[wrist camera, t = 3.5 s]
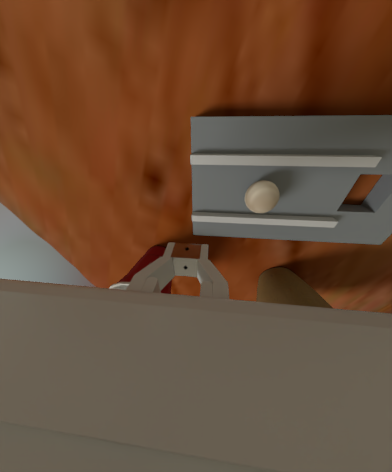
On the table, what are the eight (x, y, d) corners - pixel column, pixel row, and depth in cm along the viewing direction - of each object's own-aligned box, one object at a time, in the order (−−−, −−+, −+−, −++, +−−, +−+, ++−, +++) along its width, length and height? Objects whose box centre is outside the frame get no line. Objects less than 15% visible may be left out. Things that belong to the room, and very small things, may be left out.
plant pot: (254, 299, 40) (273, 380, 28) (233, 266, 33) (246, 354, 20) (317, 287, 35) (376, 381, 22) (309, 244, 28) (390, 346, 15)
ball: (245, 175, 19) (251, 186, 16) (277, 176, 19) (290, 187, 16) (240, 204, 21) (244, 218, 18) (268, 205, 21) (277, 219, 18)
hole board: (193, 117, 18) (189, 116, 15) (472, 115, 16) (532, 113, 13) (194, 227, 28) (192, 239, 25) (367, 235, 25) (387, 249, 22)
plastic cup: (141, 227, 29) (105, 278, 19) (191, 247, 31) (181, 302, 21) (132, 260, 35) (101, 311, 26) (174, 275, 37) (160, 327, 28)
